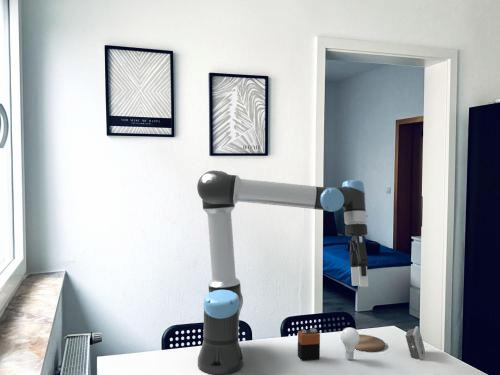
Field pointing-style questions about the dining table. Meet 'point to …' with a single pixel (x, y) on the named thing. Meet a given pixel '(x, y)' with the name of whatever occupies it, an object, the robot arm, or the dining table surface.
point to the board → (370, 344)
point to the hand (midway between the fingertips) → (359, 286)
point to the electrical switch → (415, 343)
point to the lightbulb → (350, 341)
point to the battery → (308, 345)
